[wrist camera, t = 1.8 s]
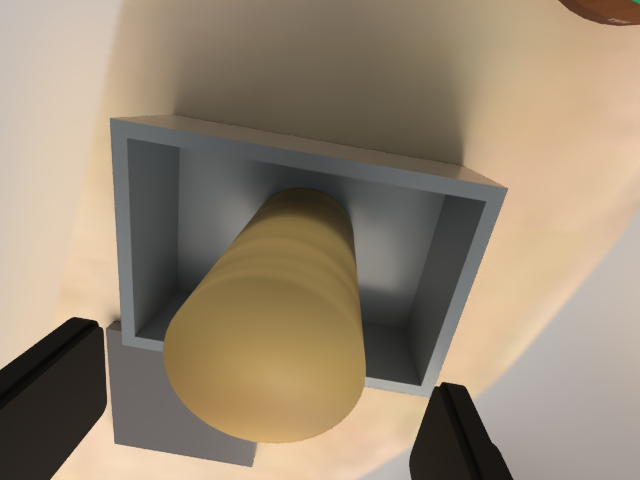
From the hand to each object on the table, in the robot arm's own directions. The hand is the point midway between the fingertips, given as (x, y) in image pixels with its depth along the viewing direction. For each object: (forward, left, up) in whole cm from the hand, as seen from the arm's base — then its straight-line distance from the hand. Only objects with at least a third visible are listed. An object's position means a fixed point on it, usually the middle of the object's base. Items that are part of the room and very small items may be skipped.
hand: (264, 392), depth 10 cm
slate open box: (-1, 0, -10) cm, 10 cm away
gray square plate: (+12, -6, -11) cm, 17 cm away
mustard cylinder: (-1, 0, -10) cm, 10 cm away
